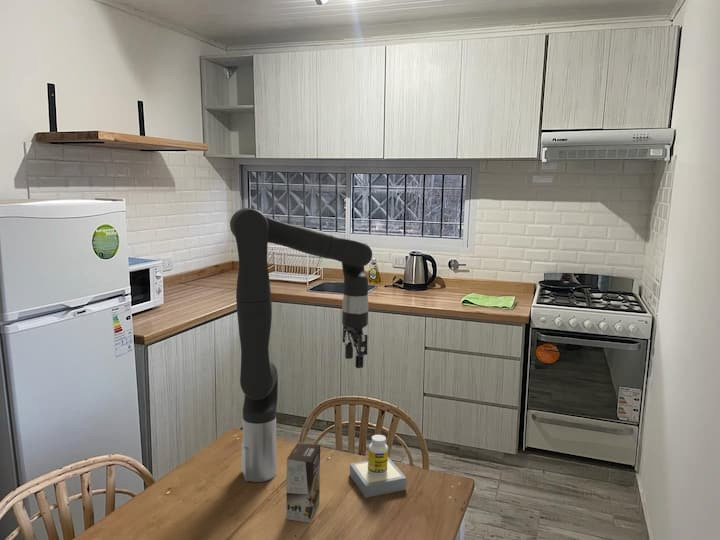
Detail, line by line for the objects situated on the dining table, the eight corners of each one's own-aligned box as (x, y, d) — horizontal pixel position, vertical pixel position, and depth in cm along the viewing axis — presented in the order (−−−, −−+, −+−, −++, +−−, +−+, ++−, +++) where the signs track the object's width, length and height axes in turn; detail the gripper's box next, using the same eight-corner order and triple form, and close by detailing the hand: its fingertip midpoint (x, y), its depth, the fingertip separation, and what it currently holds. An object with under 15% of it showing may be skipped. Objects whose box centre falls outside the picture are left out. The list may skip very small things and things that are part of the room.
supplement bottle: (373, 477, 146) (375, 443, 145) (364, 468, 151) (365, 435, 150) (390, 473, 149) (392, 439, 147) (380, 464, 154) (382, 431, 152)
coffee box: (310, 523, 132) (311, 462, 129) (285, 519, 133) (285, 458, 130) (320, 502, 141) (321, 444, 138) (297, 498, 142) (297, 441, 139)
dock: (365, 498, 143) (365, 485, 142) (349, 475, 154) (349, 463, 153) (406, 489, 147) (406, 477, 147) (387, 468, 158) (388, 456, 158)
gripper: (335, 304, 162) (334, 356, 164) (351, 316, 148) (350, 372, 151) (358, 303, 164) (357, 354, 167) (376, 314, 151) (375, 369, 154)
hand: (354, 362), depth 159 cm, fingers open, 8 cm apart
